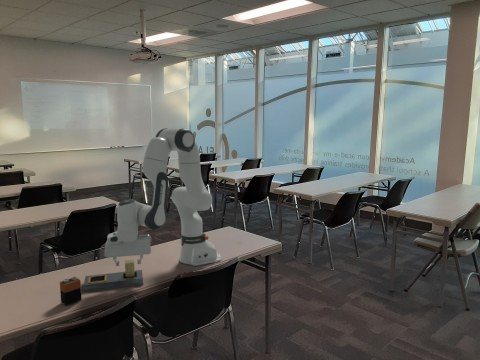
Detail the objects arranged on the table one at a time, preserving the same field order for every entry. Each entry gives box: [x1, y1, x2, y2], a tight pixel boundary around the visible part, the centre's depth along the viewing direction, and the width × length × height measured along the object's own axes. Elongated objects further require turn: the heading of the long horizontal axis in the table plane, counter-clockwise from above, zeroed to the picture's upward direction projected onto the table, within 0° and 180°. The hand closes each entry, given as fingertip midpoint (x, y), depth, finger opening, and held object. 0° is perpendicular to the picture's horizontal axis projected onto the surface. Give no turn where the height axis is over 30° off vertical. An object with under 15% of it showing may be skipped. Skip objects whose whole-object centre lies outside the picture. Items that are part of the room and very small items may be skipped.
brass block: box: [124, 259, 136, 278], centre depth 171 cm, size 4×4×9 cm
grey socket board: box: [83, 269, 144, 293], centre depth 170 cm, size 25×10×3 cm, turn 108°
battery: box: [59, 276, 83, 306], centre depth 152 cm, size 4×7×10 cm, turn 141°
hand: (128, 264), depth 170 cm, fingers open, 8 cm apart
